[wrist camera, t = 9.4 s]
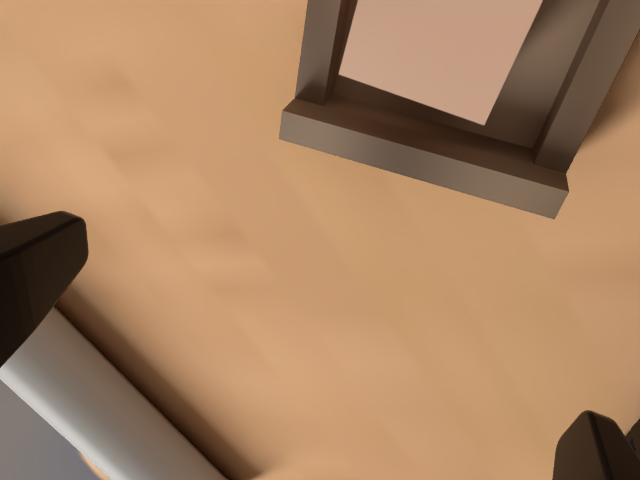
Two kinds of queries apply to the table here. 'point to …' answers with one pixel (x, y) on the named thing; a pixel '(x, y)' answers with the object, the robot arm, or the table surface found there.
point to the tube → (99, 407)
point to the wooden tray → (459, 133)
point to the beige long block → (438, 50)
